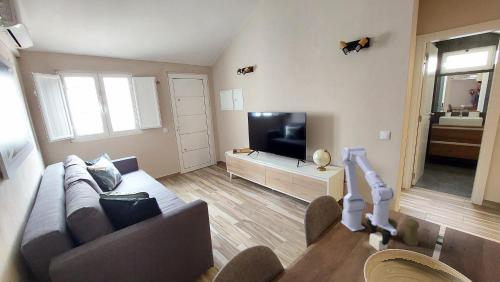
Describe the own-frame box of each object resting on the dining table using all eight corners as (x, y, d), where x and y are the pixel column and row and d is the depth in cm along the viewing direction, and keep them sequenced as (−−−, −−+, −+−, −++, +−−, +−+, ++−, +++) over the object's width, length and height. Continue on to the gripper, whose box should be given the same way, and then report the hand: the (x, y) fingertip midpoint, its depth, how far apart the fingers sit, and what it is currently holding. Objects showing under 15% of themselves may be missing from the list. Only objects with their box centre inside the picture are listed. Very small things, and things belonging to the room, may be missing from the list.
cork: (421, 246, 98) (423, 224, 96) (406, 245, 99) (408, 224, 97) (414, 237, 104) (416, 217, 101) (400, 236, 105) (402, 216, 103)
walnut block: (362, 247, 100) (362, 242, 99) (378, 243, 102) (378, 237, 102) (378, 261, 91) (378, 255, 91) (394, 256, 94) (395, 250, 93)
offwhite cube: (369, 243, 98) (370, 234, 97) (377, 241, 99) (378, 231, 98) (378, 251, 93) (379, 240, 92) (387, 248, 94) (388, 238, 93)
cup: (390, 242, 102) (392, 227, 100) (375, 233, 108) (376, 219, 106) (399, 236, 105) (400, 222, 103) (384, 229, 111) (385, 215, 110)
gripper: (360, 206, 99) (359, 232, 101) (388, 223, 85) (385, 252, 88) (373, 203, 100) (371, 229, 103) (402, 219, 87) (399, 248, 89)
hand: (379, 239), depth 96 cm, fingers open, 6 cm apart
